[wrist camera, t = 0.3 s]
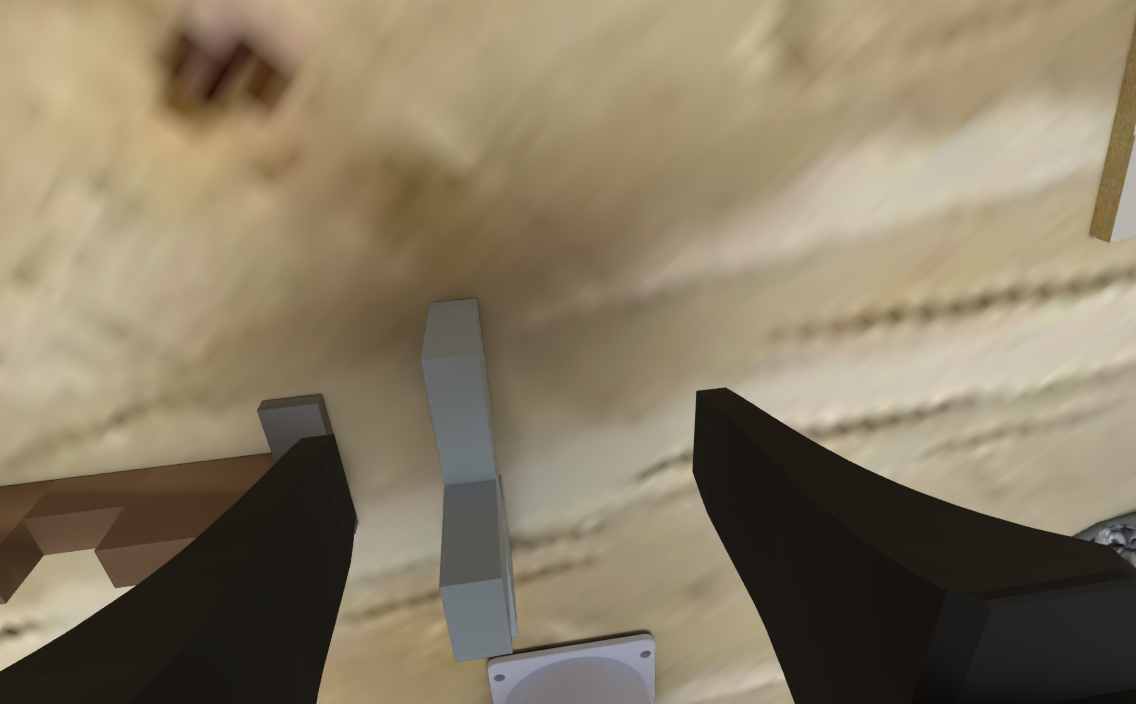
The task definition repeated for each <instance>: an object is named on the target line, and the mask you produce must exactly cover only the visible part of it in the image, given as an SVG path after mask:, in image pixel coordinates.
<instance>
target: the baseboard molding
mask: <svg viewBox="0 0 1136 704" xmlns="http://www.w3.org/2000/svg"><path fill="white" fill-rule="evenodd" d="M1090 233H1091V234H1092V235H1093V236H1095V237H1096V238H1098V239H1100V240H1103V241H1106V242H1108V243H1112V242H1116V241H1120V240H1124V239H1128V238H1132V237H1136V24H1135V29H1134V33H1133V38H1132V43H1131V47H1130V52H1129V56H1128V61H1127V65H1126V70H1125V74H1124V79H1123V83H1122V88H1121V93H1120V97H1119V102H1118V106H1117V111H1116V115H1115V120H1114V124H1113V129H1112V133H1111V138H1110V143H1109V147H1108V152H1107V156H1106V161H1105V165H1104V170H1103V174H1102V179H1101V183H1100V188H1099V193H1098V197H1097V202H1096V206H1095V211H1094V215H1093V220H1092V224H1091V229H1090Z"/></svg>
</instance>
